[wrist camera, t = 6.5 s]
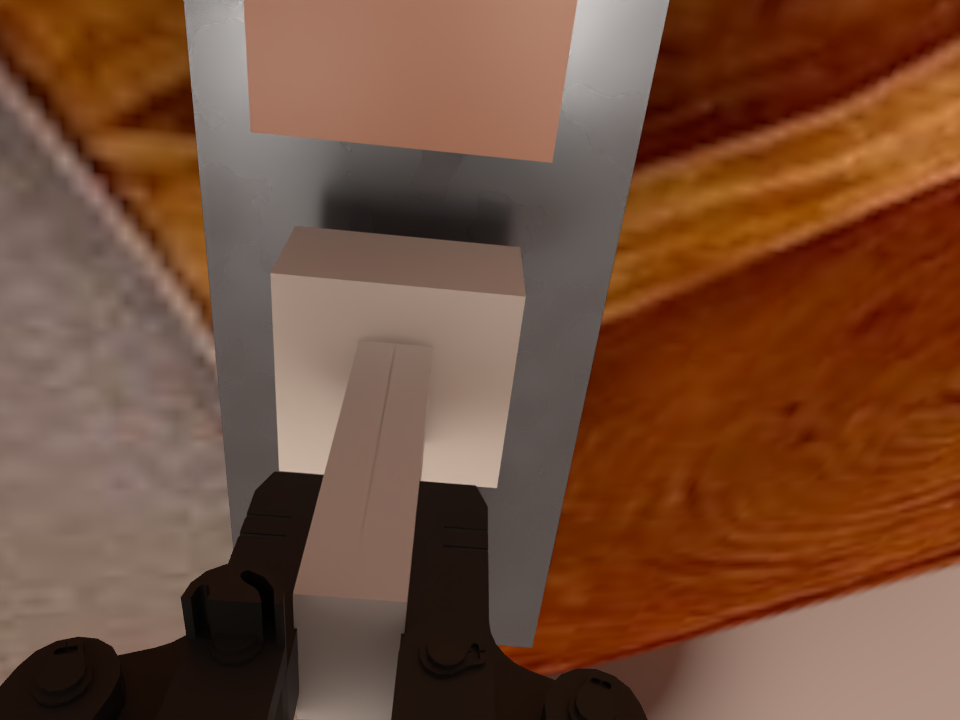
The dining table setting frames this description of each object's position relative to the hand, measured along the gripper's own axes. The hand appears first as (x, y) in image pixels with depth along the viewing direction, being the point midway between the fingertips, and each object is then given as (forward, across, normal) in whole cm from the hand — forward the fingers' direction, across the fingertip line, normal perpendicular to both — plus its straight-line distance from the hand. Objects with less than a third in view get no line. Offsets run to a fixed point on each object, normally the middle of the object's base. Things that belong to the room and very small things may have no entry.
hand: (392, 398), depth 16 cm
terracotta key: (+4, 0, +8) cm, 9 cm away
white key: (+5, 0, 0) cm, 5 cm away
